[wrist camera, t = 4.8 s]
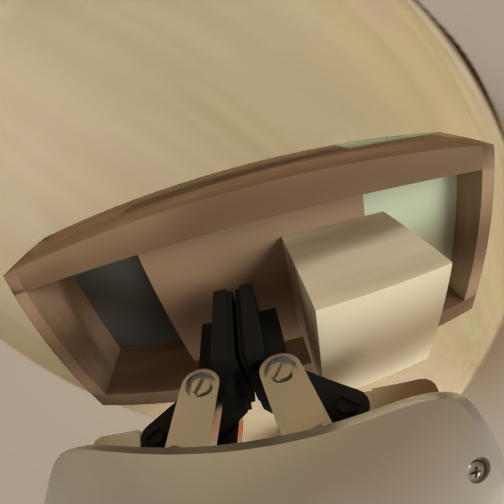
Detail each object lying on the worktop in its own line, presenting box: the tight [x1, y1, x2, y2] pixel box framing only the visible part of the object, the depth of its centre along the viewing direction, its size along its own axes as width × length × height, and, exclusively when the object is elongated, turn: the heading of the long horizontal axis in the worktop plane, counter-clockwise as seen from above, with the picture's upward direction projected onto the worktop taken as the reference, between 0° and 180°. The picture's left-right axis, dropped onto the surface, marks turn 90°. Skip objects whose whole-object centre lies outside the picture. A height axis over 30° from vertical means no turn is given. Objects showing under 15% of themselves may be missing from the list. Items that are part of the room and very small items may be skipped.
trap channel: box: [4, 132, 494, 405], centre depth 13 cm, size 10×25×4 cm, turn 104°
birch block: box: [282, 211, 453, 388], centre depth 10 cm, size 5×5×5 cm
